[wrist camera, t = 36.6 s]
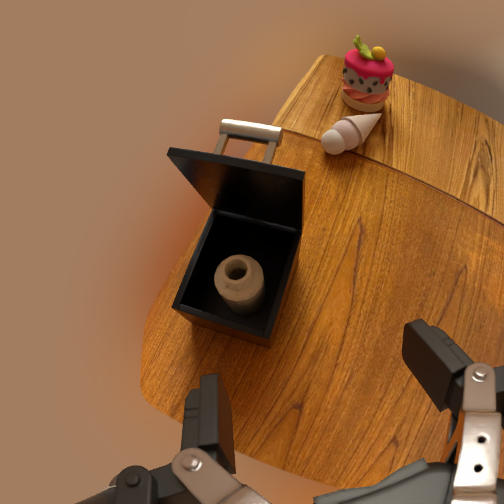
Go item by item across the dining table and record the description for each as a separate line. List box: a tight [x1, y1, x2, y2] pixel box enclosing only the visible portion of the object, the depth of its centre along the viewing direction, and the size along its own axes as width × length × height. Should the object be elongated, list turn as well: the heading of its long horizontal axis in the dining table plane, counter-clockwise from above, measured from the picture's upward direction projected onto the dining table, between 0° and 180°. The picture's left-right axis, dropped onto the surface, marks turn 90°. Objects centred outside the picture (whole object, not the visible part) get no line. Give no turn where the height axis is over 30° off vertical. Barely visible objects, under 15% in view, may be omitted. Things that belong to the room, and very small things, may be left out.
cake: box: [341, 36, 394, 112], centre depth 52 cm, size 10×11×15 cm
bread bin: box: [172, 209, 302, 348], centre depth 39 cm, size 14×12×9 cm
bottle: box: [214, 255, 266, 315], centre depth 38 cm, size 6×6×10 cm
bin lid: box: [167, 119, 305, 230], centre depth 31 cm, size 14×12×6 cm
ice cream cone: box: [321, 113, 382, 155], centre depth 51 cm, size 6×6×15 cm
